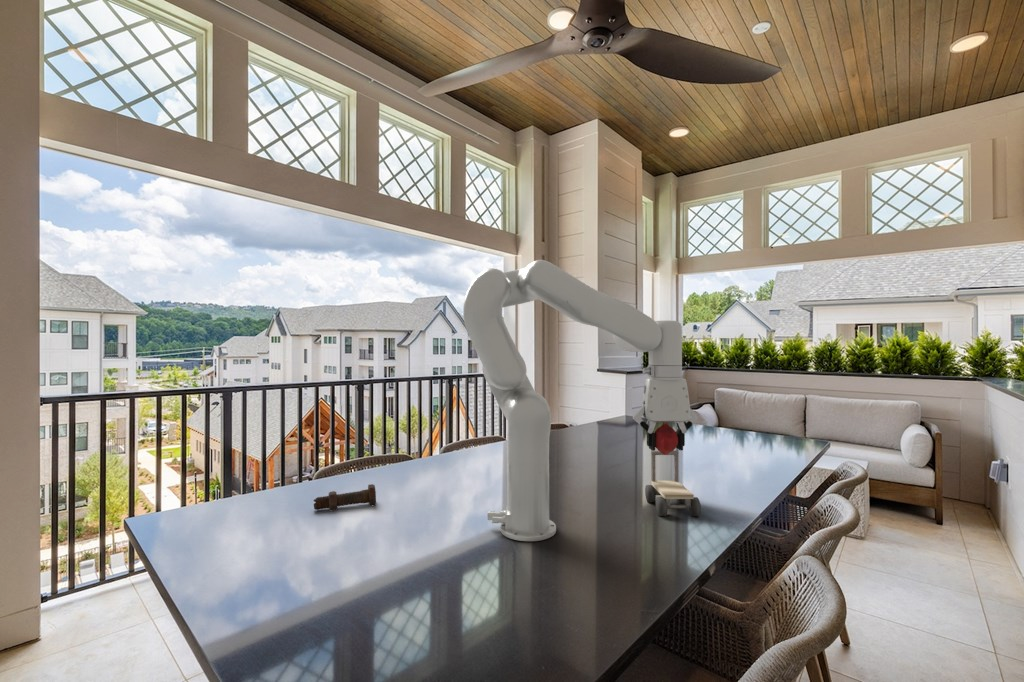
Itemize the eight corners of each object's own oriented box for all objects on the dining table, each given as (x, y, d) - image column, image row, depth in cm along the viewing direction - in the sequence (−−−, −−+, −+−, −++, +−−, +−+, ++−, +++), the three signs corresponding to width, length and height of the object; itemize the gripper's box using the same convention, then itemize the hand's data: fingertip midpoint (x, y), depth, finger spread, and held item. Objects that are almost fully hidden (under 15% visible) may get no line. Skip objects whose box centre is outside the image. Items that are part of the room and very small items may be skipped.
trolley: (700, 518, 114) (700, 462, 114) (660, 518, 114) (660, 462, 114) (680, 499, 128) (680, 449, 128) (645, 499, 128) (644, 449, 129)
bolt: (314, 517, 121) (375, 508, 126) (313, 513, 116) (376, 503, 122) (313, 494, 123) (373, 486, 129) (313, 490, 119) (374, 481, 125)
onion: (682, 458, 109) (681, 423, 109) (656, 458, 109) (656, 423, 109) (673, 452, 115) (673, 419, 115) (649, 452, 115) (649, 419, 115)
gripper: (632, 373, 108) (633, 453, 108) (708, 373, 108) (708, 452, 108) (625, 372, 115) (625, 446, 115) (695, 371, 115) (695, 445, 115)
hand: (665, 448), depth 112 cm, fingers closed on onion, 5 cm apart
